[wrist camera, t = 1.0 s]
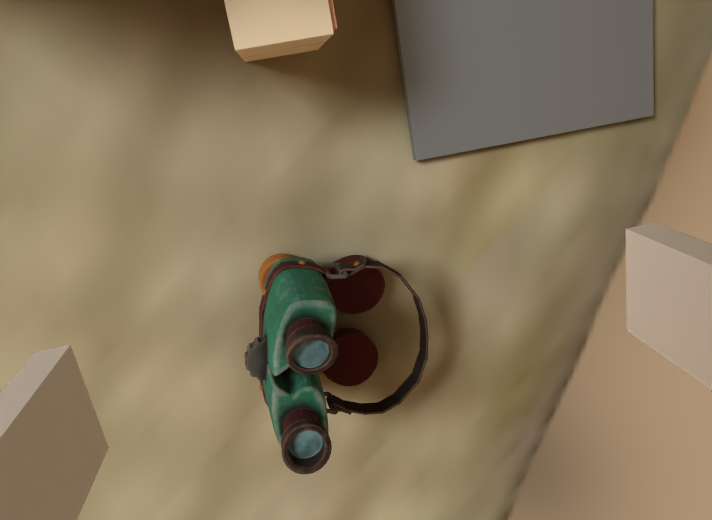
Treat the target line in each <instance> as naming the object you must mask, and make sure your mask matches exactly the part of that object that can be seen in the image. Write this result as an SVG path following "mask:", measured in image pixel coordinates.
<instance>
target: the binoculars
mask: <svg viewBox="0 0 712 520" xmlns="http://www.w3.org/2000/svg"><path fill="white" fill-rule="evenodd" d="M378 268H380V269H384V270H386V271H388V272H390V273H391V274H393V275H395V276H397V277H399V278H400V279H401V280H402V281H403V282H404V284H405V285H406V286H407V287H408V289H409V290H410V291H411V293H412V295H413V298H414V301H415V304H416V307H417V310H418V314H419V323H420V351H419V354H418V357H417V360H416V363H415V366H414V368H413V371H412V373H411V375H410V376H409V377H408V378H407V379H406V380H405V381H404V383H403V384H402V385H401V386H400V387H399V388H398V389H397V390H396V392H395V393H394V394H392V395H390V396H389V397H387V398H385V399H383V400H381V401H380V402H378V403H363V404H360V403H355V402H350V401H345V400H342V399H340V398H338V397H336V396H334V395H332V394H331V393H329V392H324V391H323V388H322V384H321V381H320V377H319V373H320V372H323V373H324V374H325V376H326V377H327V378H328V379H330V380H331V381H333V382H335V383H337V384H339V385H343V386H355V385H358V384H360V383H363V382H364V381H366V380H367V379H368V378H369V377H370V376H371V375H372V373H373V372H374V370H375V368H376V366H377V362H378V352H377V348H376V346H375V344H374V343H373V342H372V340H371V339H370V338H368V337H367V336H366V335H365V334H364V333H363V332H361V331H359V330H357V329H354V328H345V329H340V330H337V331H335V332H334V329H335V325H336V319H337V312H336V309H337V310H339V311H341V312H344V313H348V314H358V313H362V312H365V311H367V310H369V309H371V308H372V307H374V306H375V305H376V304H377V303H378V302H379V300H380V299H381V297H382V295H383V293H384V289H385V281H384V277H383V275H382V273H381V272H380V270H379V269H378ZM259 282H260V287H261V290H262V298H261V303H260V307H259V338H258V337H257V338H255V339H254V342H252V343H249V345H248V346H247V349H248V350H247V352H245V365H246V369H247V370H249V371H250V375H251V376H252V377H257V378H258V380H260V383H261V385H260V386H259V389H260V390H261V391H263V395H264V400H265V402H266V404H267V406H268V407H269V411H270V415H271V419H272V423H273V427H274V431H275V434H276V437H277V439H278V442H279V444H280V445H281V448H282V457H283V460H284V462H285V464H286V465H287V467H288V468H289V469H290V470H292V471H294V472H295V473H299V474H310V473H314V472H316V471H318V470H319V469H321V468H322V467H323V466H324V465H325V464H326V462H327V461H328V459H329V457H330V454H331V440H330V437H329V435H328V419H327V413H330V414H337V413H338V411H340V412H345V413H348V414H351V412H353V413H358V414H364V415H367V414H381V413H384V412H386V411H388V410H390V409H392V408H393V407H395V406H397V405H399V404H400V403H401V402H402V401H403V400H404V399H405V398H406V396H407V395H408V394H409V393H410V392H411V391H412V390H413V389H414V387H415V386H416V385H417V384H418V383H419V382H420V379H421V376H422V373H423V370H424V367H425V364H426V361H427V358H428V329H427V320H426V316H425V313H424V310H423V307H422V304H421V301H420V298H419V297H418V295H417V294H416V293H415V292H414V290H413V289H412V288H411V286H410V285H409V284H408V283H407V281H406V280H405V279H404V278H403V277H402V276H401V275H400V274H399V273H398V272H397V271H395V270H393V269H391V268H390V267H388V266H386V265H384V264H382V263H381V262H379V261H372V260H370V259H369V258H367V257H364V256H361V255H351V256H347V257H343V258H341V259H339V260H337V261H335V262H334V263H332V264H329V265H325V266H323V267H320V266H319V265H317V264H316V263H315V262H314V261H312V260H310V259H305V258H295V257H293V256H291V255H288V254H276V255H273V256H271V257H269V258H268V259H266V260H265V262H264V263H263V264H262V266H261V268H260V271H259ZM325 396H327V398H326V400H327V403H328V406H329V408H330V409H327V408H326V401H325Z"/></svg>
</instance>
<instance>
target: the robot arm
mask: <svg viewBox="0 0 712 520" xmlns="http://www.w3.org/2000/svg"><path fill="white" fill-rule="evenodd" d="M626 331H628V332H629V333H631V334H632V335H633V336H635V337H636V338H637V339H639V340H640V341H642V342H643V343H645V344H646V345H647V346H649V347H650V348H652V349H653V350H654V351H656V352H657V353H659V354H660V355H661V356H663V357H664V358H666V359H667V360H669V361H670V362H671V363H673V364H674V365H676V366H677V367H679V368H680V369H681V370H683V371H684V372H686V373H687V374H688V375H690V376H691V377H693V378H694V379H695V380H697V381H698V382H700V383H701V384H702V385H704V386H705V387H707V388H708V389H710V390H711V391H712V244H711V243H709V242H706V241H703V240H700V239H698V238H695V237H692V236H690V235H687V234H684V233H682V232H679V231H676V230H674V229H671V228H668V227H666V226H663V225H660V224H658V223H651V224H646V225H641V226H637V227H632V228H627V229H626ZM108 448H109V447H108V445H107V442H106V439H105V437H104V434H103V431H102V428H101V426H100V423H99V420H98V418H97V415H96V412H95V410H94V407H93V404H92V402H91V399H90V396H89V394H88V391H87V388H86V386H85V383H84V380H83V377H82V375H81V372H80V369H79V367H78V364H77V361H76V359H75V356H74V353H73V351H72V348H71V345H67V346H62V347H57V348H53V349H48V350H43V351H38V352H35V353H34V354H33V355H32V356H31V357H30V358H29V360H28V361H27V362H26V363H25V364H24V365H23V367H22V368H21V369H20V370H19V371H18V372H17V374H16V375H15V376H14V377H13V378H12V379H11V380H10V382H9V383H8V384H7V385H6V386H5V387H4V389H3V390H2V391H1V392H0V520H77V518H78V516H79V514H80V511H81V509H82V507H83V505H84V502H85V500H86V498H87V495H88V493H89V491H90V489H91V486H92V484H93V482H94V479H95V477H96V475H97V473H98V470H99V468H100V466H101V463H102V461H103V459H104V457H105V454H106V452H107V450H108Z"/></svg>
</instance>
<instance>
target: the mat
mask: <svg viewBox="0 0 712 520" xmlns="http://www.w3.org/2000/svg"><path fill="white" fill-rule="evenodd" d="M392 5H393V12H394V19H395V27H396V34H397V41H398V49H399V56H400V63H401V71H402V78H403V86H404V93H405V100H406V108H407V115H408V122H409V130H410V137H411V145H412V152H413V159H414V160H415V161H418V160H423V159H428V158H434V157H439V156H444V155H449V154H455V153H460V152H465V151H470V150H476V149H481V148H486V147H491V146H497V145H502V144H507V143H512V142H517V141H523V140H528V139H533V138H538V137H544V136H549V135H554V134H559V133H565V132H570V131H575V130H580V129H586V128H591V127H596V126H601V125H607V124H612V123H617V122H622V121H628V120H633V119H638V118H643V117H649V116H654V58H653V0H392Z"/></svg>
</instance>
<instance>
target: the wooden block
mask: <svg viewBox="0 0 712 520" xmlns="http://www.w3.org/2000/svg"><path fill="white" fill-rule="evenodd" d="M224 2H225V7H226V12H227V16H228V21H229V25H230V30H231V34H232V39H233V43H234V48H235V51H236V52H237V53H238V54H239V56H240V57H241V58H242V59H243V60H244V61H245V62H250V61H256V60H261V59H267V58H273V57H279V56H285V55H291V54H297V53H303V52H308V51H314V50H318V49H319V48H320V47H321V46H322V45H323V44H324V43H325V42H326V41H327V40H328V39H329V38H330V37H331V36H332V35H333V34H334V33H333V32H334V31H335V30H336V29H337V23H336V17H335V11H334V5H333V0H224Z"/></svg>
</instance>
